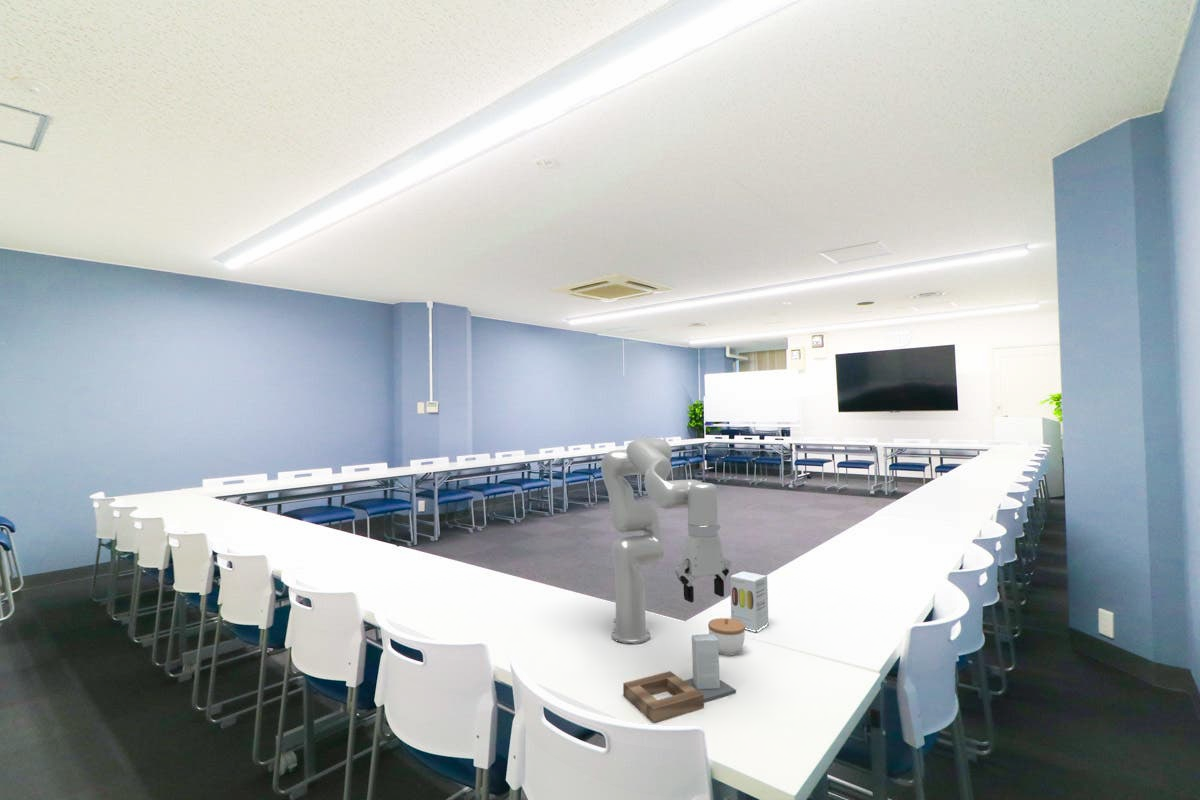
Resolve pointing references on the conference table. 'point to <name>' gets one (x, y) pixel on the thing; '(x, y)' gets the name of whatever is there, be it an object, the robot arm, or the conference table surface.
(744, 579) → the supplement box
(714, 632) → the lidded jar
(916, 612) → the conference table surface
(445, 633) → the conference table surface
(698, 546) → the robot arm
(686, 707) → the frame
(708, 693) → the pad
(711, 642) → the skincare box
